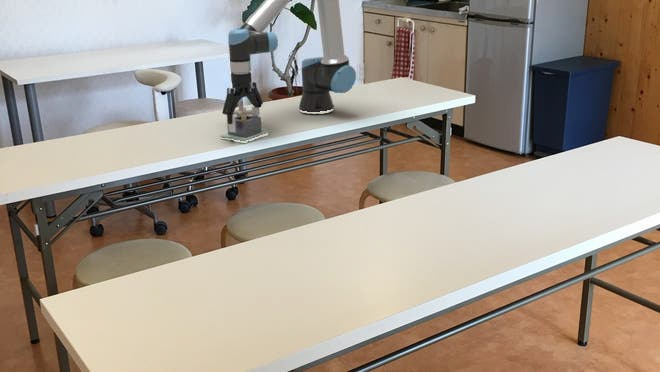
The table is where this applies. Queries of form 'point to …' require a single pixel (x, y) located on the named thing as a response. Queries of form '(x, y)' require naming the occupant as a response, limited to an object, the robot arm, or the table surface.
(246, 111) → the pipe connector
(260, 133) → the keeper board
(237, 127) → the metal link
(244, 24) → the robot arm
